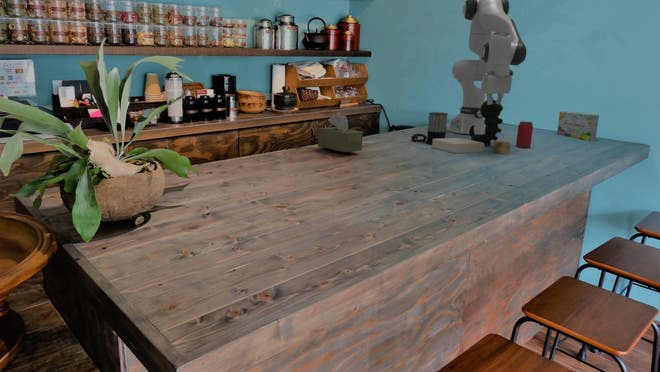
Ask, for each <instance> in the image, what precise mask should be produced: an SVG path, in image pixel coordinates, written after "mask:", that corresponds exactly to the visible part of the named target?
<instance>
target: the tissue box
mask: <svg viewBox="0 0 660 372" xmlns="http://www.w3.org/2000/svg"><path fill="white" fill-rule="evenodd" d="M327 120H328V122H329V123H330V124H331V125H332V127H331V126H329V127H318V129H317V131H318V134H317V147H320V148H325V149H329V150H334V151H338V152H342V153H350V152H361V151H362V150H363V148H362V147H363V145H362V144H363V134H364V133H363V131H361V130H359V131H358V130H353V129H349V123H348V122H349V121H348V118H347V116H346V115H345V114H344V115H342V113H341V111H337V112H336V113H335V114H334V115H332V116H330V117H329V118H327Z"/></svg>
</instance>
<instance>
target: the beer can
mask: <svg viewBox="0 0 660 372" xmlns="http://www.w3.org/2000/svg"><path fill="white" fill-rule="evenodd" d="M533 129H534V125H533V121H526V120H525V121H519V124H518V126H517V135H516V143H515V145H516V147H517V148H525V149H527V148H531V144H532V138H533V137H532V136H533Z"/></svg>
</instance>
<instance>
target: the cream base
mask: <svg viewBox="0 0 660 372" xmlns="http://www.w3.org/2000/svg"><path fill="white" fill-rule="evenodd" d="M431 148H432V149H437V150H440V151H444V152H448V153H452V154H467V153H469V154H470V153H484V151H485V150H484V149H485V146H484V143H482V142H477V141H473V140H471V139H468V138H462V137H455V138H454V137H451V138H450V137H449V138H448V137H447V138H446V137H445V138H444V139H433V142H432V144H431Z"/></svg>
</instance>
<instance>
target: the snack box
mask: <svg viewBox="0 0 660 372" xmlns="http://www.w3.org/2000/svg"><path fill="white" fill-rule="evenodd" d="M599 117H600V115H598V114H592V113H584V112H574V111H567V110H565V111H564V110H561V111H559V116H558V125H557V131H556V135H558V136H563V137H568V138H572V139H577V140H582V141H586V142H596V138H597V133H598V125H599Z"/></svg>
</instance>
